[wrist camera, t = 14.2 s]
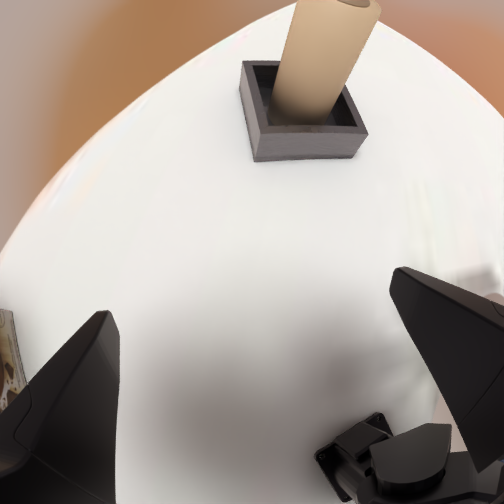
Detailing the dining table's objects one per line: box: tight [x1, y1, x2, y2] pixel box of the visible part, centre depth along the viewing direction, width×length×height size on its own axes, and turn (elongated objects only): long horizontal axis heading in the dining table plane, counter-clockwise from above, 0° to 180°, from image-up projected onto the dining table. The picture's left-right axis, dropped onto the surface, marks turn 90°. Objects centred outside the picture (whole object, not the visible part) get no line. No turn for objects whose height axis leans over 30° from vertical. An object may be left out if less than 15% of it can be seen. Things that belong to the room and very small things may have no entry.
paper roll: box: [268, 0, 382, 126], centre depth 20 cm, size 6×6×14 cm
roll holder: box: [239, 61, 368, 162], centre depth 26 cm, size 10×10×4 cm
